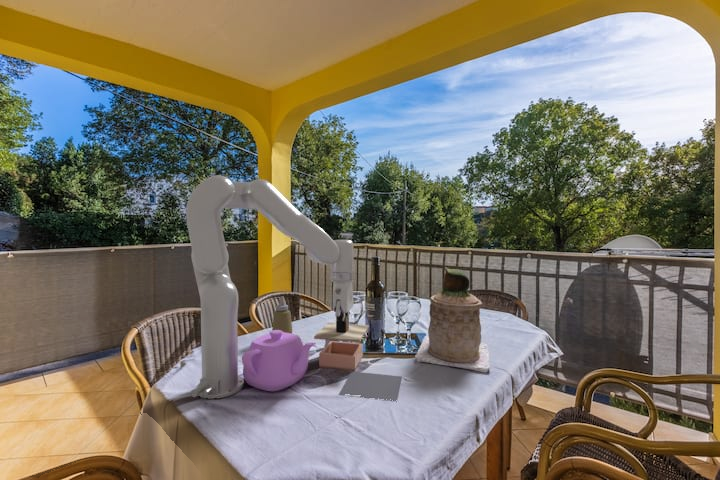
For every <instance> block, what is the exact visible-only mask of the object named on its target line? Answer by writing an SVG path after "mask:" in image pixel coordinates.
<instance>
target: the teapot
mask: <svg viewBox="0 0 720 480" xmlns="http://www.w3.org/2000/svg"><path fill="white" fill-rule="evenodd" d="M316 344H317V343H316V342H306V343H305V344H304V343H303V341H302V339H301V337H300V336H299V335H297V334H295V333H294V334H293V333H292V334H291V333H286V332H283V331H281V330H273V331H272V330H271V331H269V333H266V334H263V335H260V336H258V337H257V338H254V339H253V340H252V341H251V343H250V346H249V347H248V349H247V352H244V353H243V355H241V363H242V366H243V369H242V377H243V380H245V382H246V383H247V384H248V385H249V386H250V387H253V388H256V389H259V390H263V391H265V392H278V391H281V390H284V389H286V388H288V387H291V386H293V385H294V384H297V382H299V381H300V380H301V379H302V378H303V377H304V376H305V374H306V372H307V370H308V367H309V364H308V363H309V354H310V349H311V348H312V347H313V346H315V345H316Z"/></svg>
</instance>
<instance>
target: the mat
mask: <svg viewBox="0 0 720 480" xmlns="http://www.w3.org/2000/svg"><path fill="white" fill-rule="evenodd" d="M402 379H403V376H401V375H390V374H380V373H372V372H362V371H350V373H349V375H348V377H347V379H346V381H344V382H345V383H344V384H343V386H342V388H340V389H341V390H340V391H339V393H338V395H339V396H344V395H345V394H350V395H361V396H360V397H359V398H361V397H362V399H369V398H375V399H374V400H377V399H378V398H379V399H384V400H383V401H386V399H387V401H388V400H390V399H391V400H390V401H388V402H394V401H396V400H397V401H396V402H395V403H397V402H398V399H399V393H400V389H401V385H402ZM363 397H364V398H363ZM392 400H393V401H392ZM387 401H386V402H387Z"/></svg>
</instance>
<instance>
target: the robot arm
mask: <svg viewBox="0 0 720 480" xmlns="http://www.w3.org/2000/svg"><path fill="white" fill-rule="evenodd" d="M185 209H186V210H185V217H186V225H187V230H188V236H189V241H190V246H191V255H190V256H191V262H192V267H193V273H194V276H195V281H196V285H197V288H198V289H197V290H198V294H199V298H200V337H201V339H200V341H201V342H200V343H201V345H200V346H201V349H200V350H201V377H200V379H199V383H198V384H197V385H196V386H195V388H194V389H192V390H191V391H190V396H191V397H192V398H197V397H199V396H200V397H199V398H203V399H206V398H208V400H211V399H213V400H214V398H217V399H222V398H227V397H229V396H232V395H234V394H237V393H238V392H240V391H241V390H242V388H243V387H244V386H245V385H244V384H245V381H244V380H245V379H244V377H243V376H242V377H241V376H240V375H239V350H238V349H239V345H238V344H239V343H238V342H239V340H238V339H239V338H238V336H239V334H238V314H239V312H238V311H239V291H238V289H237V286H236V285H235V283H233V281H232V279H231V274H230V269H229V265H228V263H229V260H230V258H229V252H228V249H227V245H226V240H225V237H224V231H223V225H222V218H221V217H222V211H223V209H237V210H256V211H257V212H258V213H259V214H261V215H262V216H263V217H264V218H265V219H266V220H267V221H268V222H269V223H271V224H272V226H274V227H275V229H277V230H278V232H280V233H282V234H283V235H285V236H286V237H288V238H291V239H293V240H295V242H296V241H297V242H298V243H299V244H301V245H302V246H304V247H305V254H306V256H307V258H308V259H309V260H310V261H312V262H314V263H317V264H321V265H325V266H326V265H327V266H328V265H329V266H330V279H331V280H330V281H331V282H332V283H333V284H332V285H333V287H332V310H333V312H334V313H335V315H334V316H335V323H336V332H339V333H345V332H346V321H345V315H349V316H350V311H351V309H352V308H353V307H354V288H353V282H354V281H355V280H354V279H355V278H354V274H355V273H354V271H355V270H354V242H353V240H351V239H335V240H333V238H332V237H331V236H330V235H329V234H328V233H327V232H325V230H324V229H323V228H321V227H320V226H319V225H317V224H316V223H315V222H314V221H312V220H311V219H310V218H308V216H306V215H305V214H303V213H302V212H301V211H299V209H298V208H296V207H295V206H294V205H293V204H292V203H291V202H290V201H289V200H288V199H287V198H286V197H285V196H284V195H283V194H282V193H281V192H280V190H278V189H277V188H276V187H275V185H273V184H272V183H271V182H269V181H268V180H266V179H263V178H262V179H261V178H259V179H254V180H251V181H232V180H231V179H230V178H229V177H227V176H225V175H221V174H217V175H211V176H210V177H207V178H206V179H204V180H202V181H201V182H200V183H199V184H198V185H197V186H195V188H194V189H193V190H192V192H191V194H190V195H189V197H188V200H187V204H186V208H185ZM342 315H343V316H342Z"/></svg>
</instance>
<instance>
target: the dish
mask: <svg viewBox="0 0 720 480" xmlns="http://www.w3.org/2000/svg"><path fill="white" fill-rule="evenodd" d="M363 358H364V343H361V342H348V341H335V340H329V342H328V343H327V344H326V345H325V346H324V348H323V349H322V350H321V351H320V352H319V353H318V359H319V361H318V363H319V364H318V365H319V366H318V367H319V368H322V369H329V370H330V369H331V370H341V371H342V370H343V371H350V372H352V371H354V372H356V370H357V368H358V366H359V364H360V363H361V361H362V359H363Z"/></svg>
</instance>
